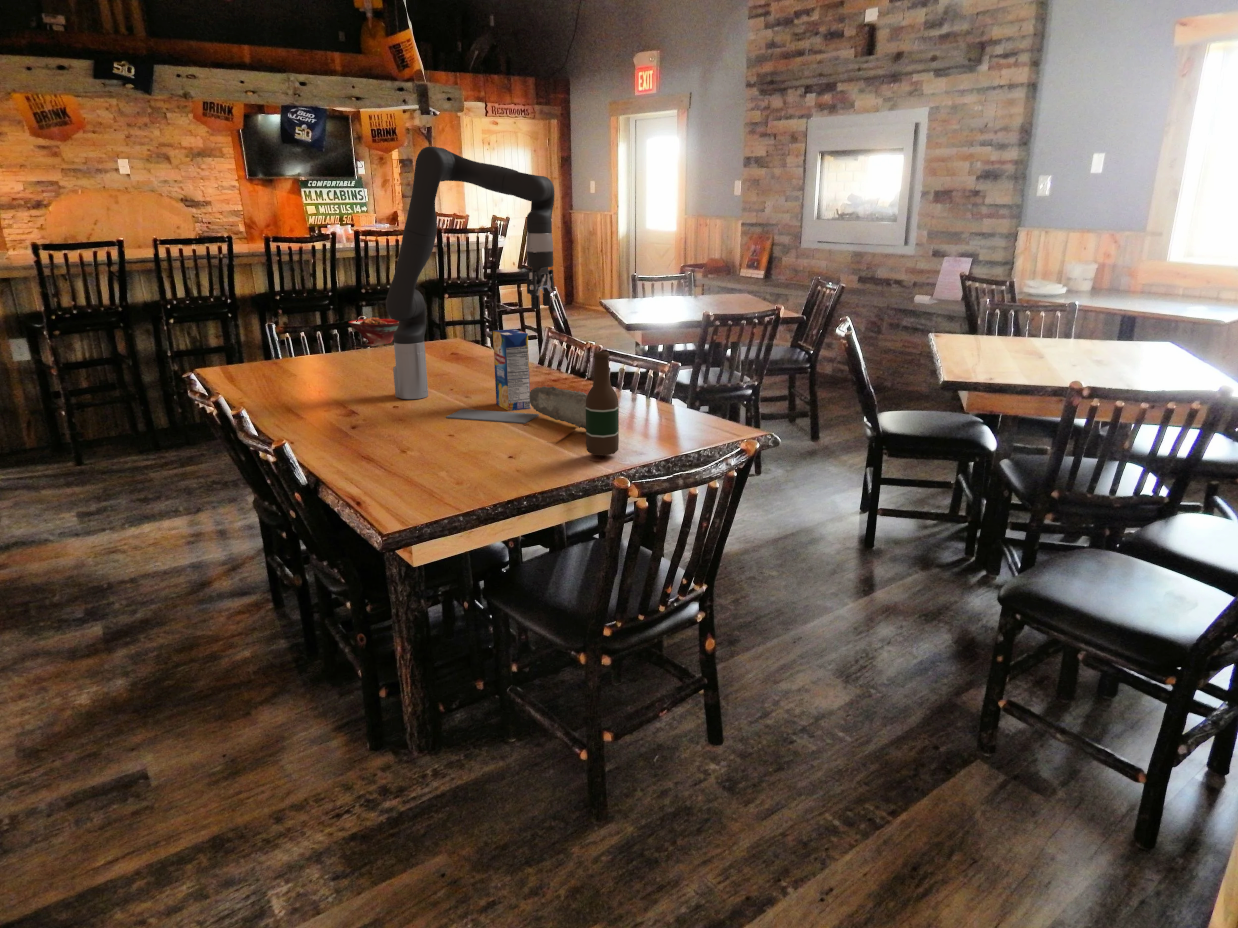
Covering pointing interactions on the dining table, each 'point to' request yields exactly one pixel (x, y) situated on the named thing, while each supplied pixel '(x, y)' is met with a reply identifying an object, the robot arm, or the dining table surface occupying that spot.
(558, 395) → the elongated rock
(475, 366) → the dining table surface
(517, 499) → the dining table surface
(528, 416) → the mat
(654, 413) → the dining table surface
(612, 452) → the beer bottle
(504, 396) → the beverage box
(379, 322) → the stew
